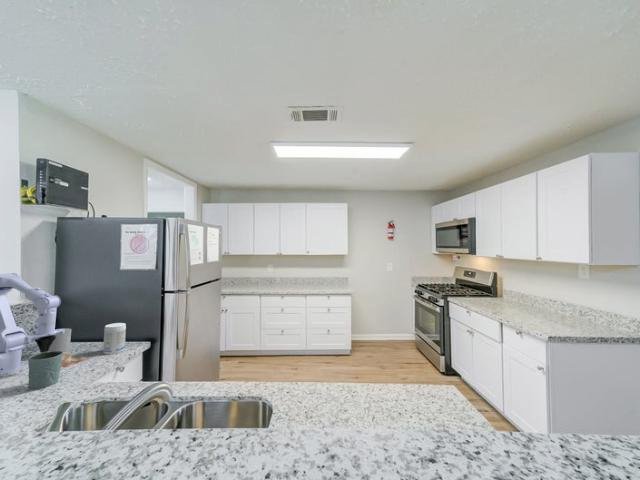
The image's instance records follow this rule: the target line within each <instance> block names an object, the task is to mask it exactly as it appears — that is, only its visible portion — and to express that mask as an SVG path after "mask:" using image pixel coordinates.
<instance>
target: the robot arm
mask: <svg viewBox="0 0 640 480" xmlns="http://www.w3.org/2000/svg"><path fill="white" fill-rule="evenodd" d="M13 289H15V290H17V291H19V292H20V293H22V294H24V297H25V299H27V300H28V301H30V302H31V303H34V304H35V307H36V310H37V314H38V319H37V320H38V321H37V328H36V329H37V330H36V331H37V332H36V333H34V334H31V335H28V333H26V332H25V329H24V328H22V327H20V326H17V323H16V321H15V318H14V315H13V311H12V309H11V306H10V303H9V300H8V298H7V295H8V293H10V292H12V290H13ZM61 304H62V300H61V298H60V296H59V295H52V294H50V293H49V292H46V291H44V290H42V287H32V286H31V285H30V284H29V283H27V282H26V281H24V280H23V279H22V276H21V275H19V274H18V273H16V272H15V273H14V272H12V273H0V375H4V374H7V373H10V372H13V371H16V370H19V369H22V368H26V367H27V366H26V365H23V364H21V363H22V354H23V352H22V351H23V348H24V347H25V345H26V344H28V343H30V342H31V341H35V343H36V344H37V346H38V348H39V351H40V352H39V353H42V352H47V351H48V350H49V348H50V346H51V344H52V342H53V341H54V340H55V339H56V336H54V335H57V334H61V333H65V329H63V328H56V323H57V322H56V319H57V309H58V307H60V306H61ZM55 328H56V329H57V330H55Z"/></svg>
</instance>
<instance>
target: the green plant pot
mask: <svg viewBox="0 0 640 480" xmlns="http://www.w3.org/2000/svg"><path fill="white" fill-rule="evenodd" d="M62 357H63V352H62V351H47V352H42V353H40V352H39V353H38V352H37V353H36V354H32V355H30V356H28V357H27V358H28V359H27V360H28V363H27V364H28V369H29V370H28V389H29V390H32V391H35V390H43V389H46V388H48V387H51V386H54V385H55V384H57V383H59V378H60V372H61V361H62Z"/></svg>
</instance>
